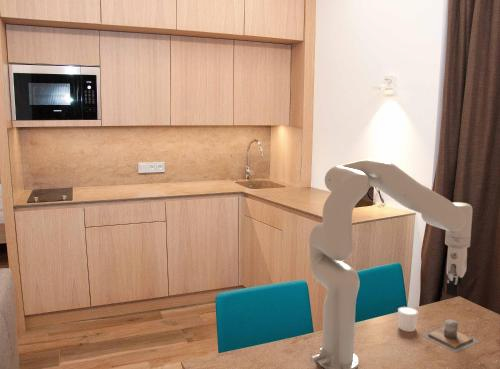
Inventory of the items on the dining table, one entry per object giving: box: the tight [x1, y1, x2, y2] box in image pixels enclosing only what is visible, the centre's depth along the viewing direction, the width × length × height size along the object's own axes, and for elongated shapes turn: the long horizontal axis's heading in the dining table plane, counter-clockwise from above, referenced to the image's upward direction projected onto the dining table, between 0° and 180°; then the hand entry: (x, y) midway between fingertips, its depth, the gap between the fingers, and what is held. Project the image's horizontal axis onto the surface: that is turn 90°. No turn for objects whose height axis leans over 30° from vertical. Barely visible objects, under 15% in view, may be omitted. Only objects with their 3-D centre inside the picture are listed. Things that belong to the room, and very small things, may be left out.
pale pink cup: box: [397, 306, 419, 332], centre depth 162 cm, size 7×7×7 cm
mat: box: [421, 325, 480, 353], centre depth 154 cm, size 13×13×1 cm
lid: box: [428, 319, 474, 349], centre depth 154 cm, size 10×10×6 cm
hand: (454, 289), depth 152 cm, fingers open, 9 cm apart
